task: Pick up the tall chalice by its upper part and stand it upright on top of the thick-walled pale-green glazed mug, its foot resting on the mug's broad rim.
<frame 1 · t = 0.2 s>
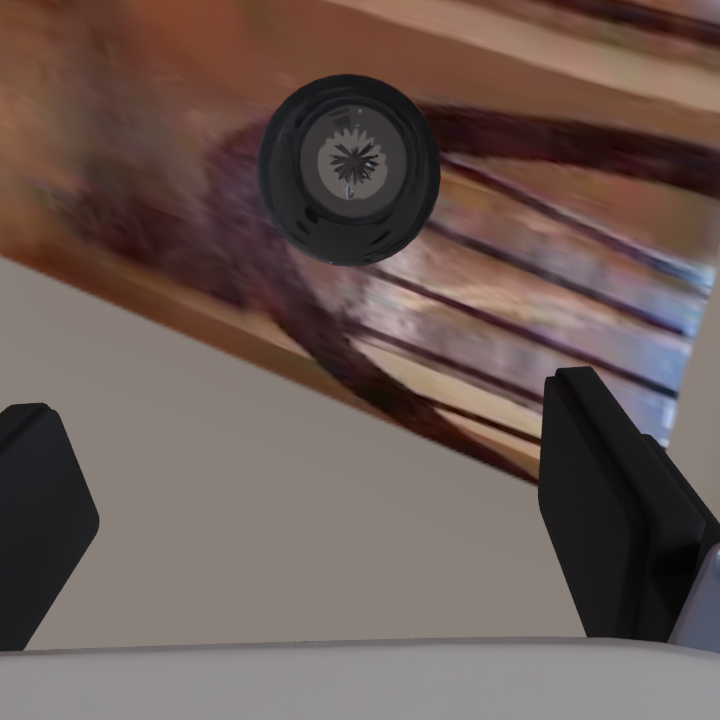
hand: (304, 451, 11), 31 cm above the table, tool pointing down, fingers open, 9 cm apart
wine glass: (360, 143, 37), on the table
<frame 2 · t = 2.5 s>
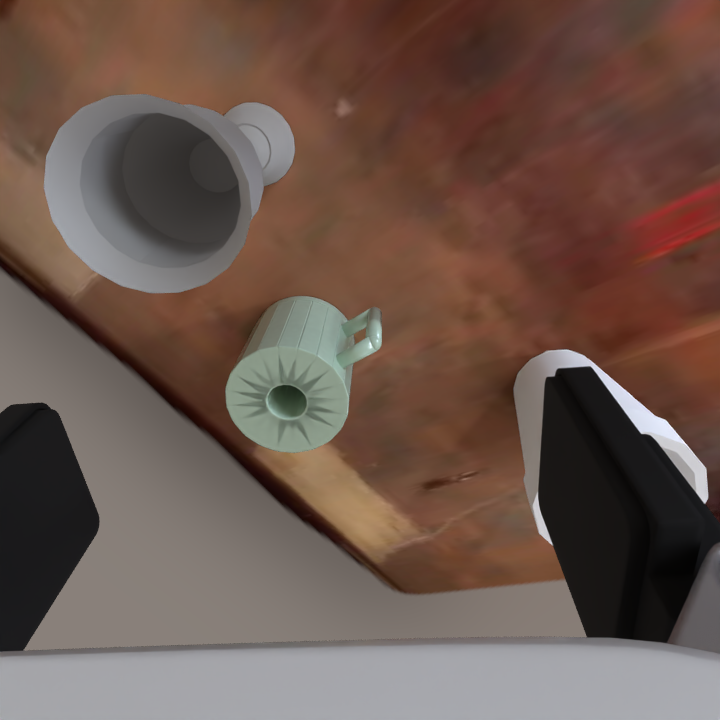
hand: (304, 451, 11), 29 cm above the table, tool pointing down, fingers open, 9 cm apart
chalice: (255, 145, 36), on the table
foam cup: (554, 385, 43), on the table
mug: (304, 343, 42), on the table
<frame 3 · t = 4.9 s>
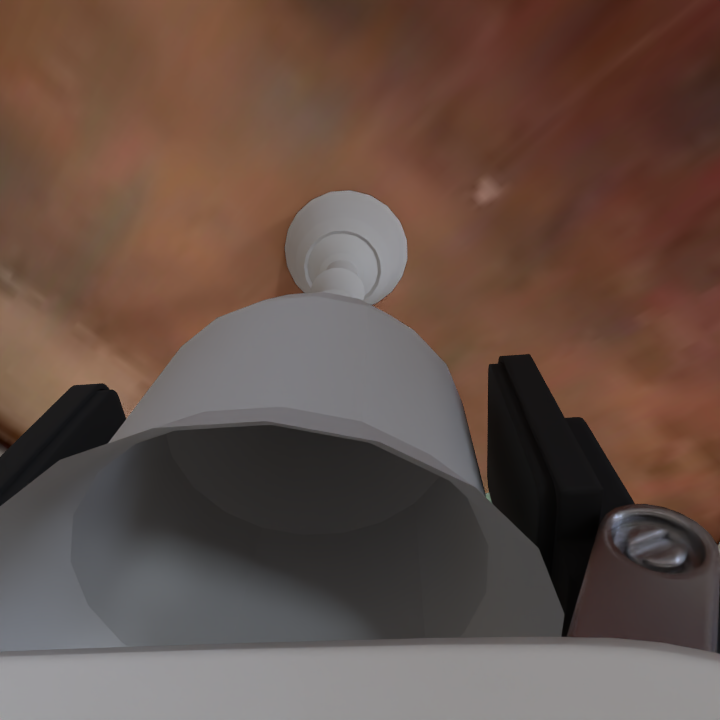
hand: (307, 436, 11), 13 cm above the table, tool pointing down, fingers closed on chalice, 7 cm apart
chalice: (346, 251, 23), on the table, touching gripper
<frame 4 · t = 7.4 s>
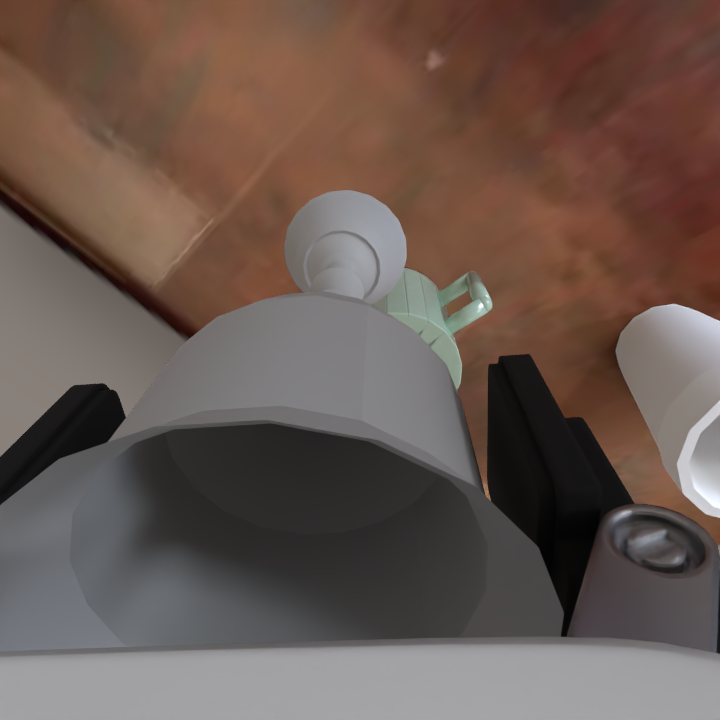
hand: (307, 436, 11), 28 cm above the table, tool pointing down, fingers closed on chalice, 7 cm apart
chalice: (345, 251, 23), point 14 cm above the table, touching gripper
foam cup: (659, 343, 40), on the table
mug: (393, 317, 40), on the table
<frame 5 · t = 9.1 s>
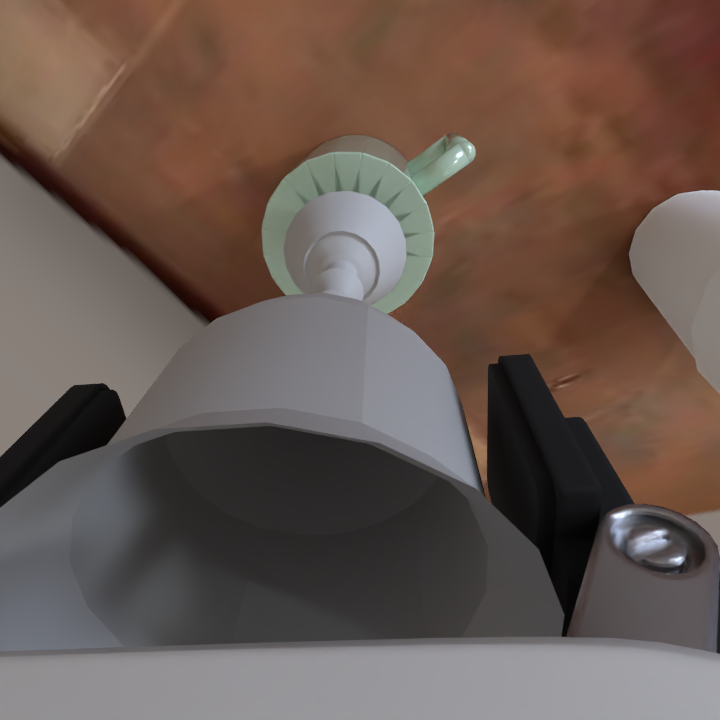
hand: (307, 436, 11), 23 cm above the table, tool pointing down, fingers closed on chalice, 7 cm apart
chalice: (345, 252, 23), point 10 cm above the table, touching gripper
foam cup: (683, 244, 33), on the table
mug: (355, 205, 32), on the table
when the fingers open (22 cm above the table, at t = 10.2 s): chalice stays where it is, resting on mug.
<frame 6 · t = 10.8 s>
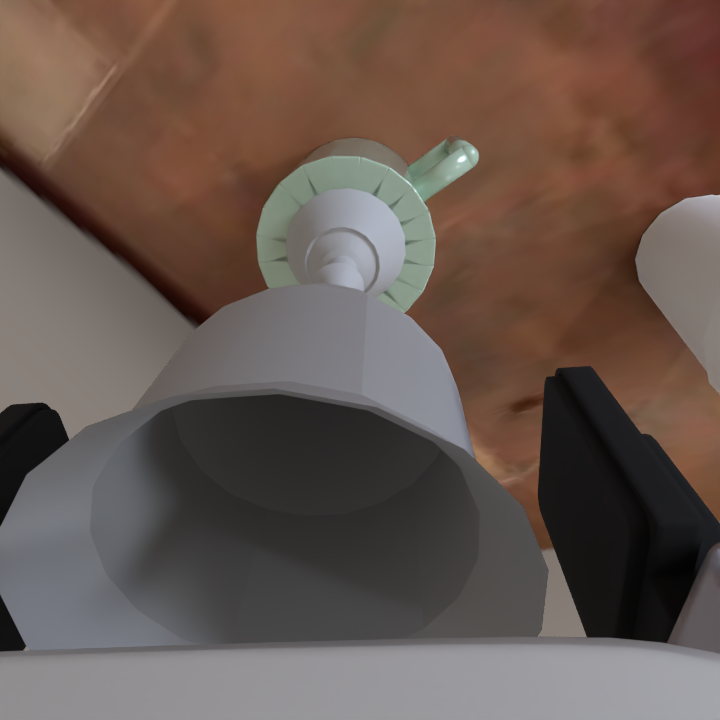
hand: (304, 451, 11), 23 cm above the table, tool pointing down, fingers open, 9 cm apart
chalice: (345, 248, 24), point 8 cm above the table, touching mug
foam cup: (691, 250, 32), on the table
mug: (353, 210, 31), on the table, touching chalice
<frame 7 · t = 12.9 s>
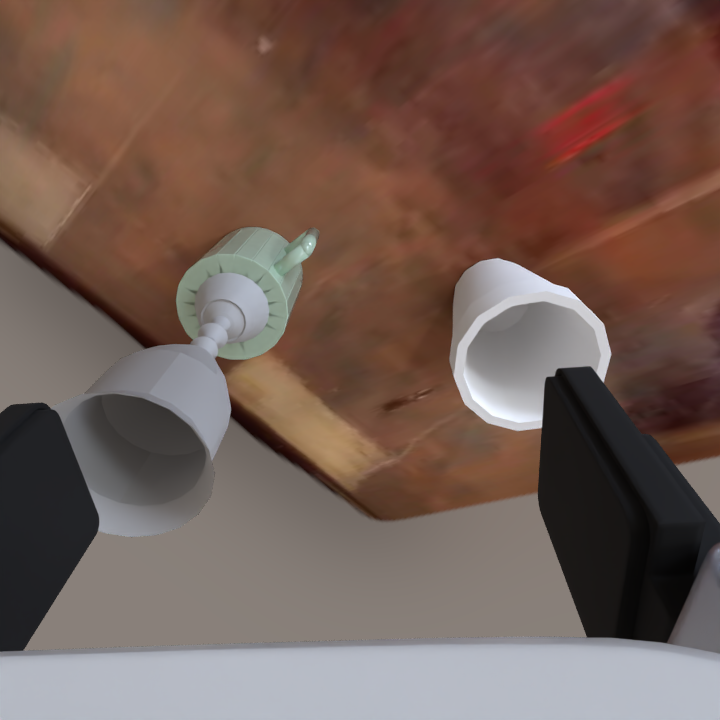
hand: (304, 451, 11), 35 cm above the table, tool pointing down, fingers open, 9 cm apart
chalice: (232, 307, 38), point 8 cm above the table, touching mug
foam cup: (491, 295, 46), on the table
mug: (256, 273, 45), on the table, touching chalice
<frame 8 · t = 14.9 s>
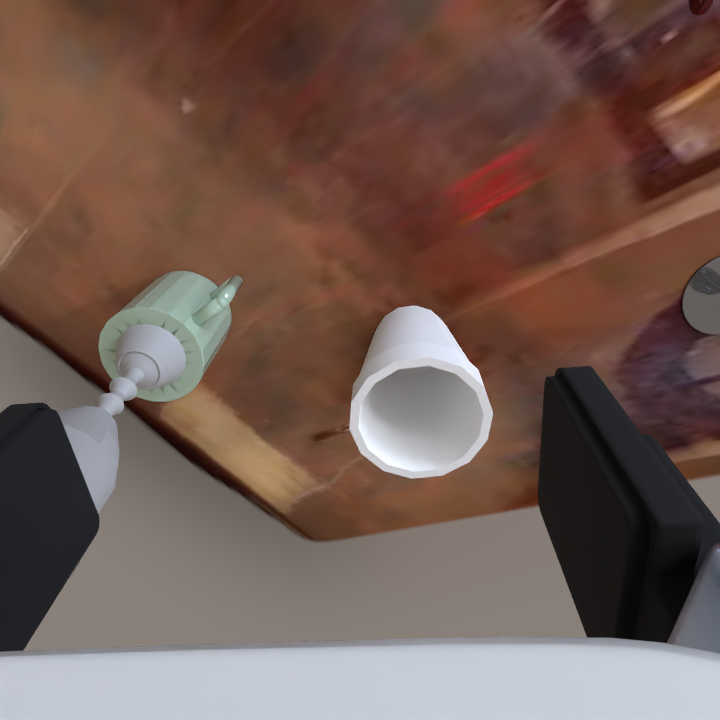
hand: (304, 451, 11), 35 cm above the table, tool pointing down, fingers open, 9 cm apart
chalice: (152, 354, 40), point 8 cm above the table, touching mug
foam cup: (410, 338, 48), on the table
mug: (187, 313, 48), on the table, touching chalice
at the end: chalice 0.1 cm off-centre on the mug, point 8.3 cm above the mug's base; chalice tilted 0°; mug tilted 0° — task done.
